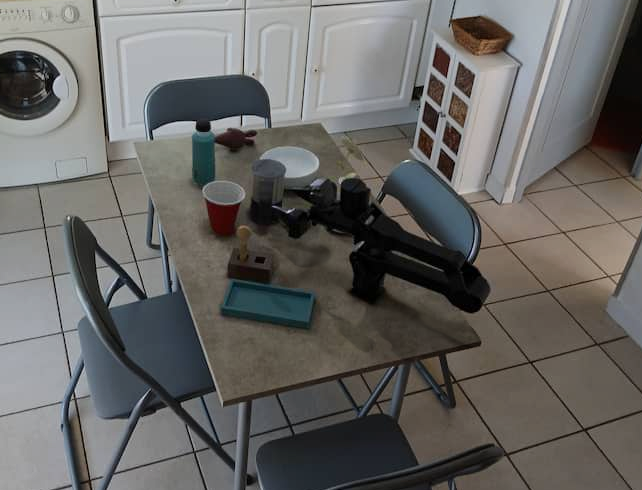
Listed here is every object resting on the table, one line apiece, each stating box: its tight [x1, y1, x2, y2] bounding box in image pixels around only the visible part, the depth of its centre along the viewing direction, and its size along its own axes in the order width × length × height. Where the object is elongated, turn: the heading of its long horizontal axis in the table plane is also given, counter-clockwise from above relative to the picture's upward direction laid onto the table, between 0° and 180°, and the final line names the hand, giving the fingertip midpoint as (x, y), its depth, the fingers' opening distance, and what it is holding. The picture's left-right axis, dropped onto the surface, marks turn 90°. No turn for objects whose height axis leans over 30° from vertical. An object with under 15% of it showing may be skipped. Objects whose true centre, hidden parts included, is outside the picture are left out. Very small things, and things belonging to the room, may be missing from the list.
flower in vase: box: [332, 135, 365, 234], centre depth 193 cm, size 13×11×25 cm
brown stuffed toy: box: [215, 127, 258, 152], centre depth 224 cm, size 7×7×15 cm
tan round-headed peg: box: [235, 225, 253, 261], centre depth 176 cm, size 3×2×14 cm, turn 82°
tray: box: [220, 278, 316, 330], centre depth 171 cm, size 20×10×2 cm, turn 82°
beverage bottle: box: [191, 118, 216, 186], centre depth 203 cm, size 6×7×20 cm
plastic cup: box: [201, 180, 246, 236], centre depth 190 cm, size 11×11×12 cm
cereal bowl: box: [259, 146, 320, 191], centre depth 211 cm, size 17×17×7 cm
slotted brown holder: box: [227, 247, 276, 285], centre depth 179 cm, size 10×6×4 cm, turn 82°
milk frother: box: [248, 159, 312, 226], centre depth 195 cm, size 14×16×15 cm
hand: (282, 198), depth 178 cm, fingers open, 9 cm apart
